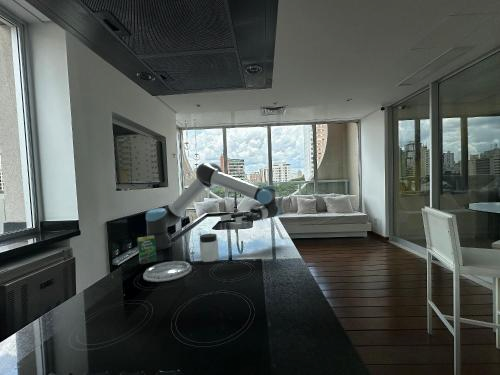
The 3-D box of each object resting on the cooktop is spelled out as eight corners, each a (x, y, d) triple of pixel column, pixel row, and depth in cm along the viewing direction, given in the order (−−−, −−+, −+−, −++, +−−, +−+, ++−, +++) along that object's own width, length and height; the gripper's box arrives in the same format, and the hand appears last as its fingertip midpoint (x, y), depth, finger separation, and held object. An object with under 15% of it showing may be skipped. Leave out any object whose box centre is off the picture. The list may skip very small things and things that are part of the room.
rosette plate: (137, 273, 113) (136, 269, 113) (179, 262, 126) (179, 257, 126) (153, 286, 97) (152, 281, 97) (199, 271, 110) (199, 266, 110)
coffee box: (139, 265, 125) (137, 238, 125) (139, 263, 128) (137, 237, 127) (156, 261, 129) (154, 235, 128) (156, 260, 131) (154, 234, 131)
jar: (208, 256, 133) (207, 233, 132) (221, 257, 129) (220, 233, 129) (197, 261, 125) (195, 237, 124) (211, 263, 121) (209, 237, 121)
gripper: (274, 221, 138) (243, 228, 125) (245, 218, 157) (215, 224, 144) (273, 208, 138) (242, 213, 124) (244, 206, 157) (214, 211, 144)
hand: (228, 219), depth 134 cm, fingers open, 13 cm apart
